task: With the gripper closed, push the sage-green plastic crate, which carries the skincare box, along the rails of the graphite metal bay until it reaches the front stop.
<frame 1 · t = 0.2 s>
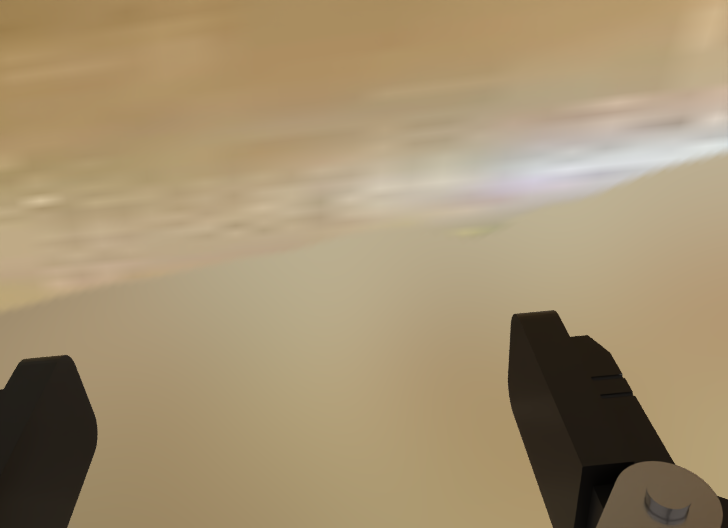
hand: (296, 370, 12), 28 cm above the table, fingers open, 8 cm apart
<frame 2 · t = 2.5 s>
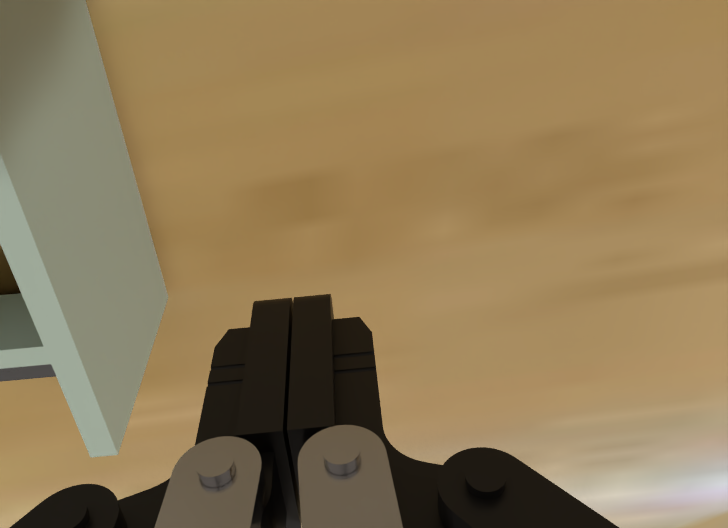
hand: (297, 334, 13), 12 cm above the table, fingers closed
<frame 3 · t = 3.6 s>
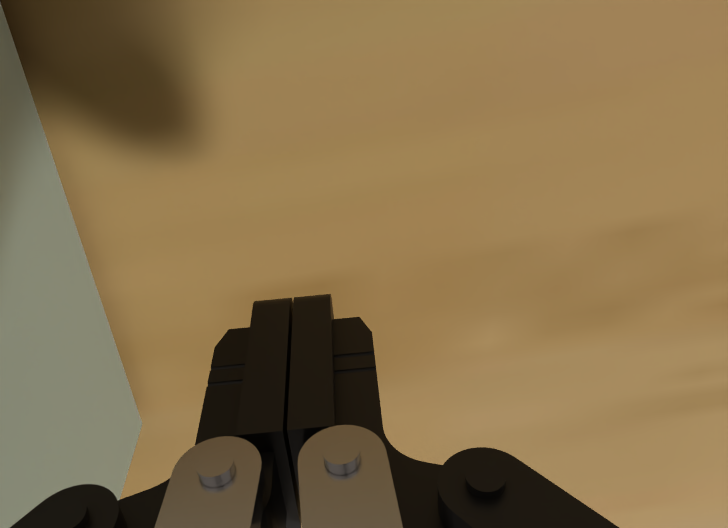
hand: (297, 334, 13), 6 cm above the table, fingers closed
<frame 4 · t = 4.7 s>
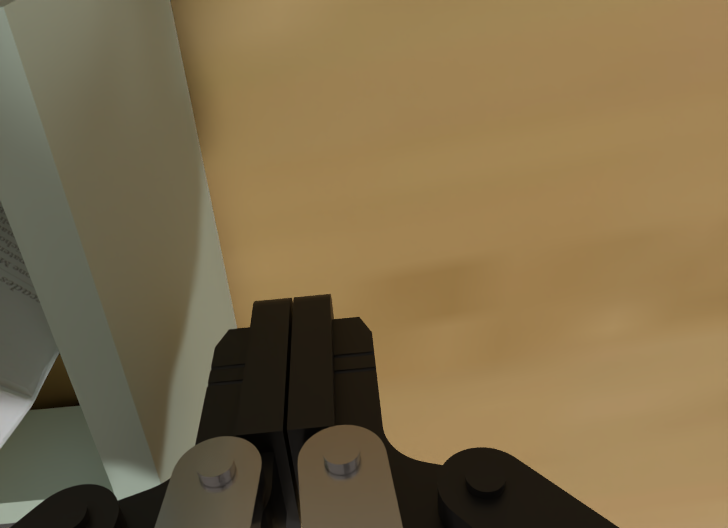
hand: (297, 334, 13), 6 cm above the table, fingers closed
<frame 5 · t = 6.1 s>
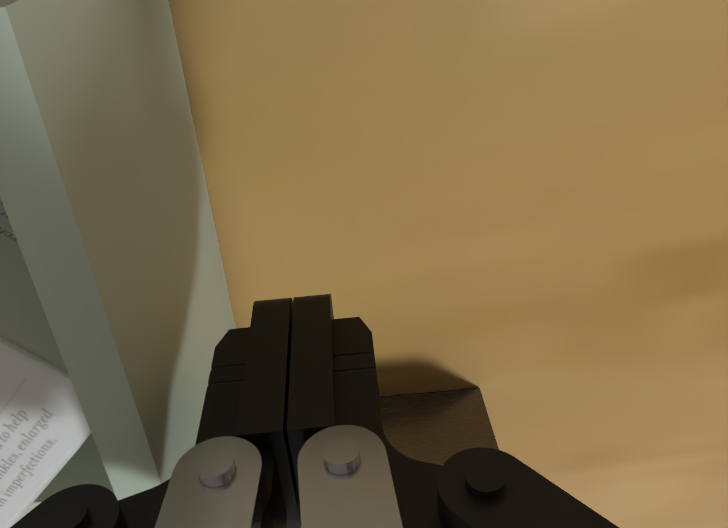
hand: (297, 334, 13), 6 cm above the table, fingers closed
skincare box: (32, 223, 18), resting in crate
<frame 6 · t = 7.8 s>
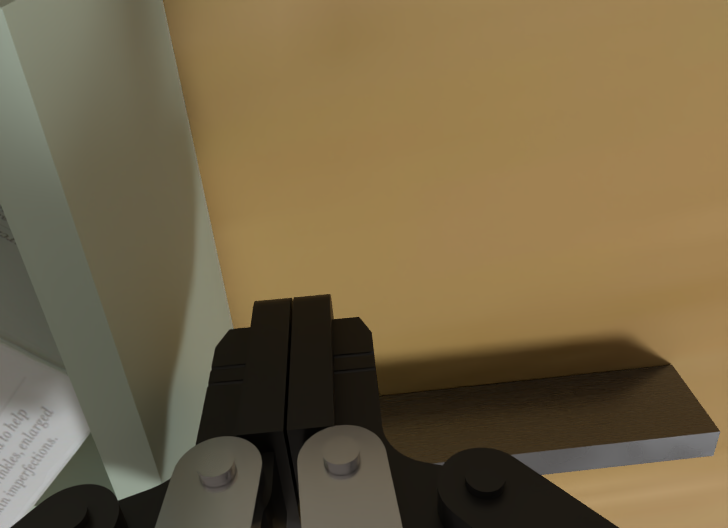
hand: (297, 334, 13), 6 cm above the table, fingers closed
bay: (203, 212, 18), on the table
skincare box: (30, 226, 18), resting in crate
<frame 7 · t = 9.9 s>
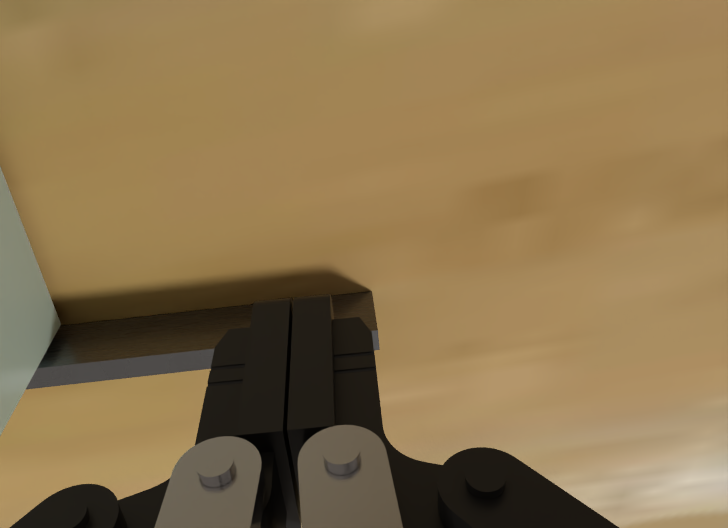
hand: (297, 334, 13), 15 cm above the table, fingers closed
bay: (3, 177, 26), on the table
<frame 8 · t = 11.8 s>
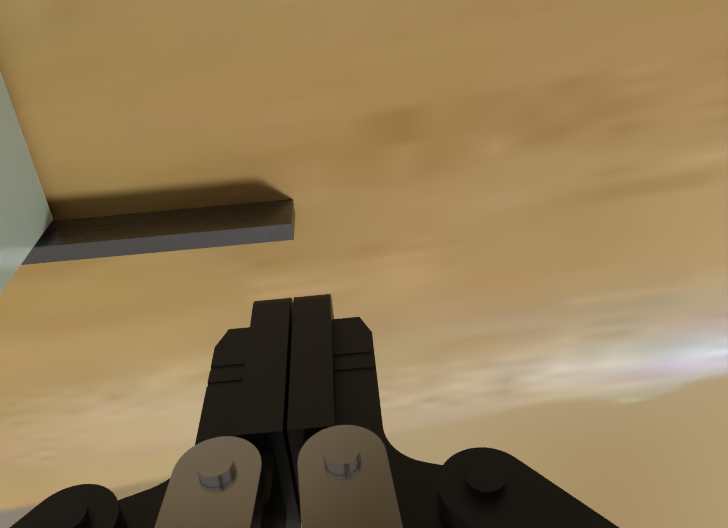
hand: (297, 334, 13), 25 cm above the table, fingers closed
bay: (10, 101, 35), on the table
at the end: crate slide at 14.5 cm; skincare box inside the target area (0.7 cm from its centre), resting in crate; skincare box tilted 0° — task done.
